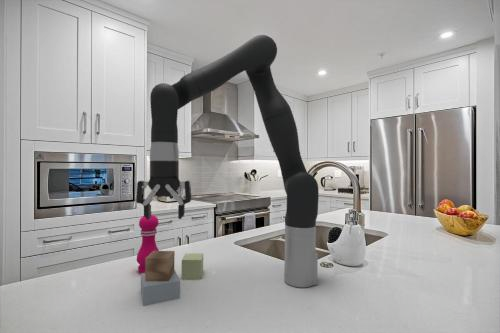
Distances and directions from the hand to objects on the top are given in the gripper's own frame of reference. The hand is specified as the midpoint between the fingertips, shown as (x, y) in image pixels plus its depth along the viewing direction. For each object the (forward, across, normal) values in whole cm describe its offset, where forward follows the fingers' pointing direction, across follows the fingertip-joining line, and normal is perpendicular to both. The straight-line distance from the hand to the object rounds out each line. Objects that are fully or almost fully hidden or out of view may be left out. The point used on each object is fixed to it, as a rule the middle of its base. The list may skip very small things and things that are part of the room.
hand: (164, 218), depth 73 cm
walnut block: (+16, +1, +1) cm, 16 cm away
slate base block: (+21, +1, +1) cm, 21 cm away
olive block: (+20, -6, -11) cm, 24 cm away
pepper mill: (+20, +9, -15) cm, 27 cm away
